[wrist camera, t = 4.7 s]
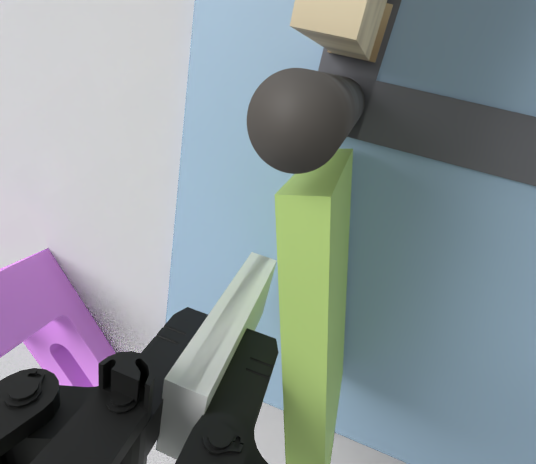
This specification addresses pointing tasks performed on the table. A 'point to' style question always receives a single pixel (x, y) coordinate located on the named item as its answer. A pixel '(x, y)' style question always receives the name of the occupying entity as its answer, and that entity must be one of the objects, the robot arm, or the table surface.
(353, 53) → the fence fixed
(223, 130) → the board
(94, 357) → the bracket
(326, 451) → the fence panel
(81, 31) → the table surface
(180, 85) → the table surface
